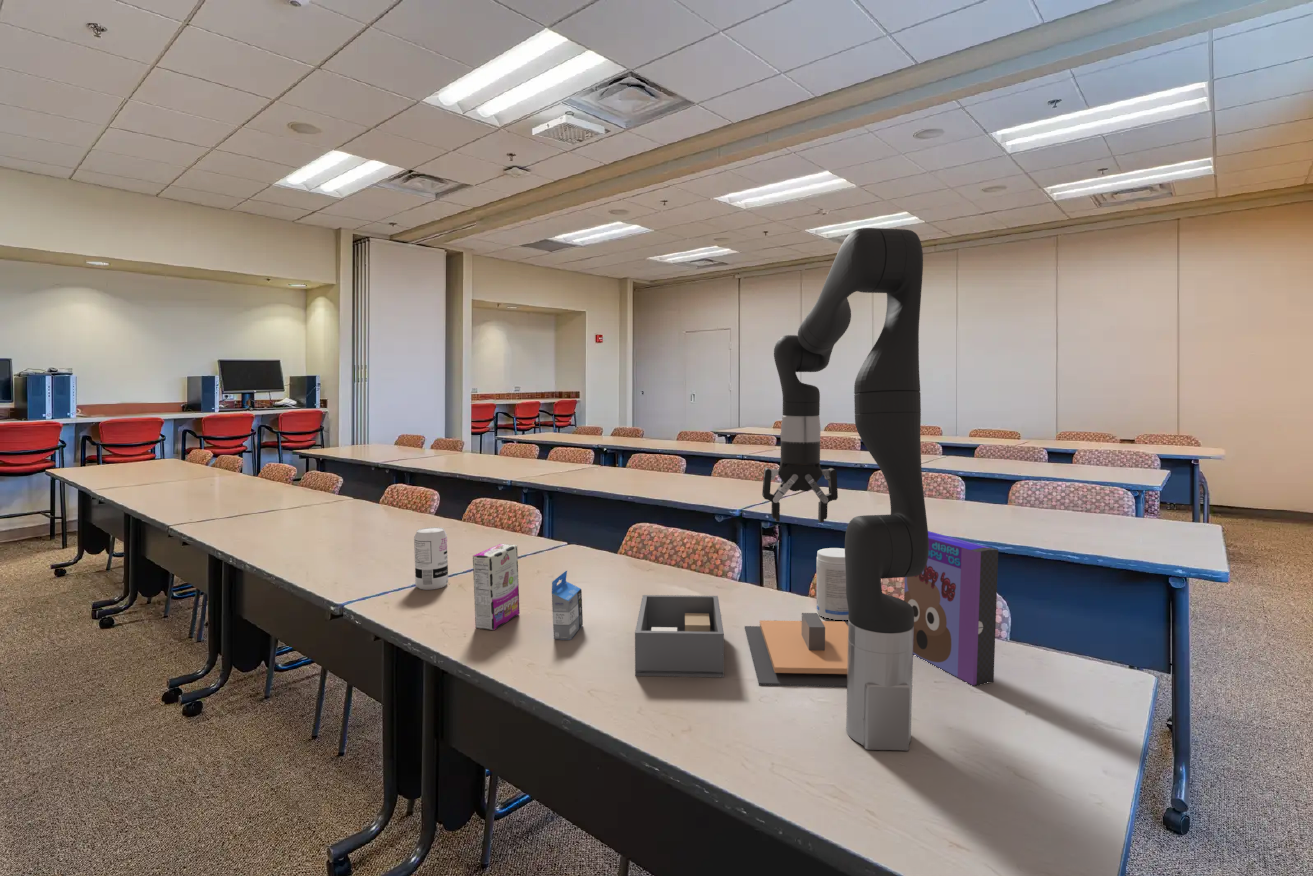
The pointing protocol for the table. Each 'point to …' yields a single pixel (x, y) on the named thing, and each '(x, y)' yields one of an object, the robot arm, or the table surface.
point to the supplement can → (431, 558)
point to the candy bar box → (496, 586)
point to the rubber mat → (784, 679)
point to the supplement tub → (831, 584)
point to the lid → (807, 645)
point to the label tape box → (566, 608)
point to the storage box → (679, 636)
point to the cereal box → (956, 608)
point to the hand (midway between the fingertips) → (799, 521)
